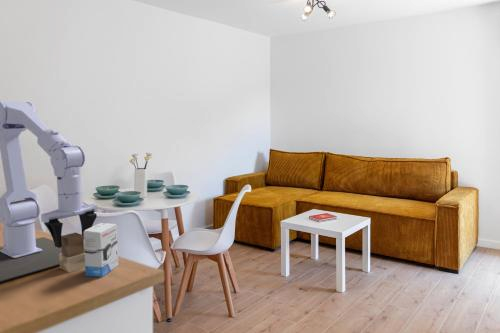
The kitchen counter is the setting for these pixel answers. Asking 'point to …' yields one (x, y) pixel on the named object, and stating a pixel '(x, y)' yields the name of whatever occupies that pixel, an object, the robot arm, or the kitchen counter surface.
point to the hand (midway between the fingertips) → (72, 243)
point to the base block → (72, 262)
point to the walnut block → (72, 244)
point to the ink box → (100, 249)
